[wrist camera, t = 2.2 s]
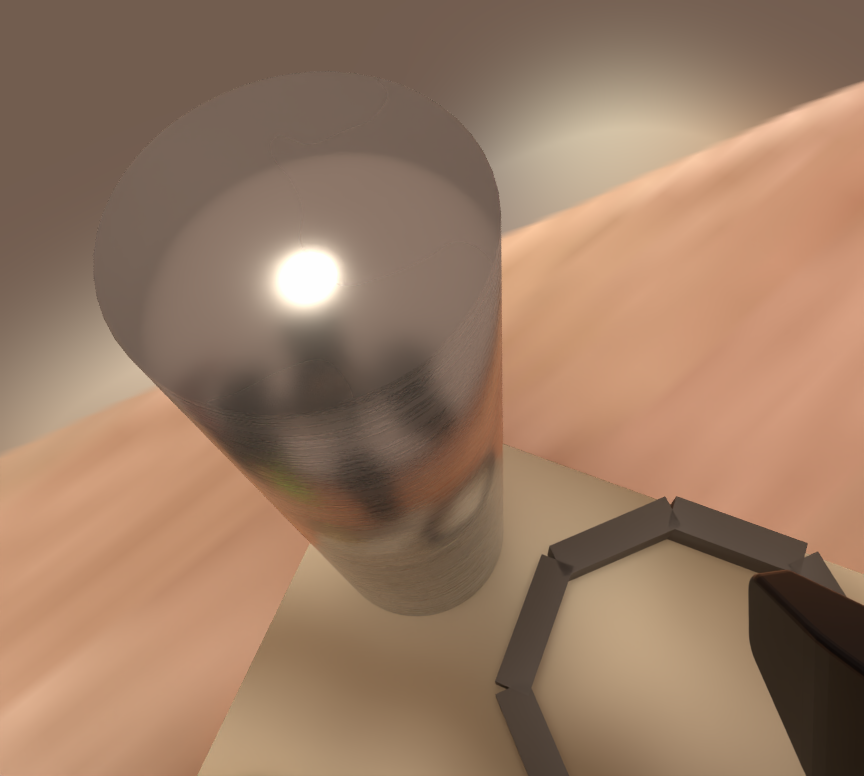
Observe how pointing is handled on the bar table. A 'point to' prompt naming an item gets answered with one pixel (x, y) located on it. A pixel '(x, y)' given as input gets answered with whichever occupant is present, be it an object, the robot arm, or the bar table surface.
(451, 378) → the steel peg
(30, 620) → the bar table surface
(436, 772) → the birch board
